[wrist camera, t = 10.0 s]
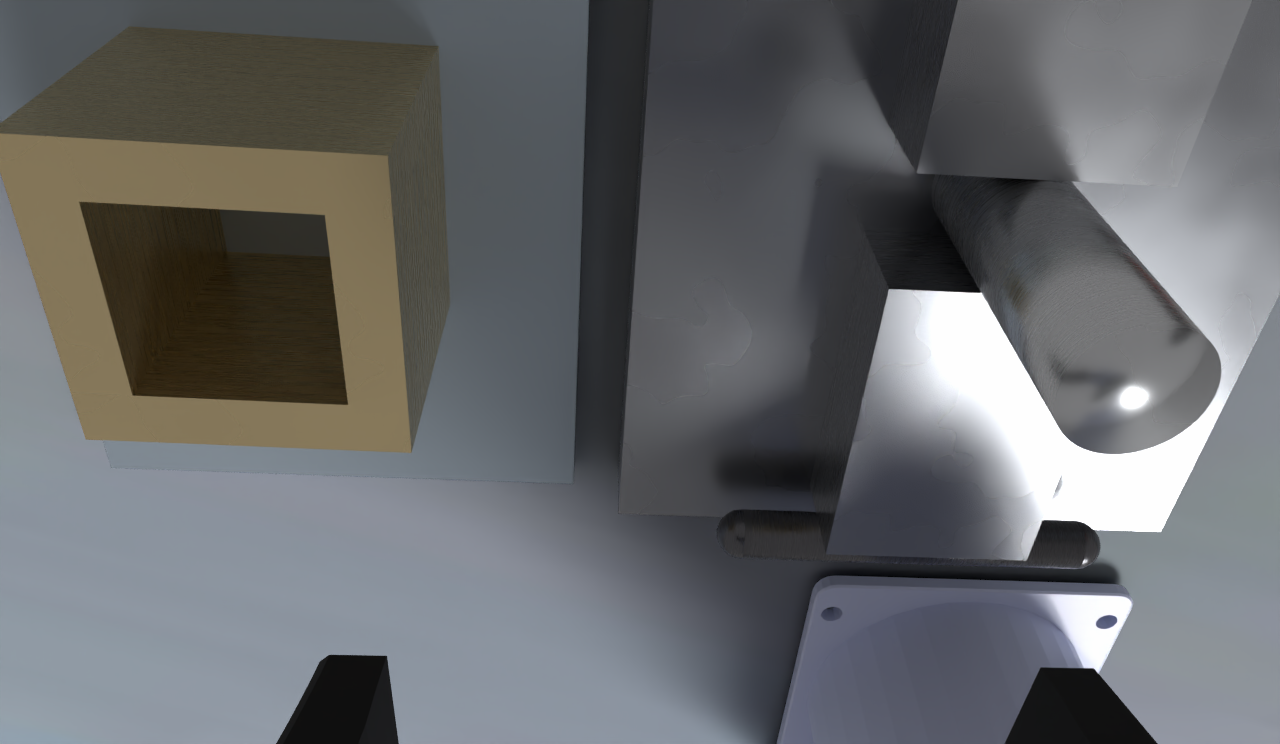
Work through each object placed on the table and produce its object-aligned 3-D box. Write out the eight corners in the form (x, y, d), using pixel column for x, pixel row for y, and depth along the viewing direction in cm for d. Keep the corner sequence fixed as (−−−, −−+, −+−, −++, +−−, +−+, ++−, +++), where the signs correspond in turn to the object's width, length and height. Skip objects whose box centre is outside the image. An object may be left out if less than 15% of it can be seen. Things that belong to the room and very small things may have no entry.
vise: (1132, 486, 23) (1314, 778, 17) (618, 467, 23) (618, 764, 17) (1523, -362, 14) (2207, -376, 8) (676, -431, 14) (727, -503, 7)
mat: (574, 466, 23) (573, 484, 22) (122, 450, 22) (111, 468, 22) (598, -262, 15) (597, -259, 14) (-112, -314, 14) (-137, -313, 14)
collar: (450, 303, 20) (411, 453, 16) (187, 290, 19) (86, 439, 16) (438, 45, 17) (388, 156, 13) (129, 26, 16) (-12, 133, 13)
